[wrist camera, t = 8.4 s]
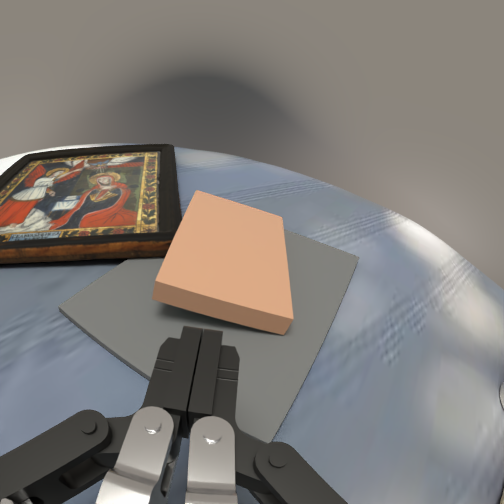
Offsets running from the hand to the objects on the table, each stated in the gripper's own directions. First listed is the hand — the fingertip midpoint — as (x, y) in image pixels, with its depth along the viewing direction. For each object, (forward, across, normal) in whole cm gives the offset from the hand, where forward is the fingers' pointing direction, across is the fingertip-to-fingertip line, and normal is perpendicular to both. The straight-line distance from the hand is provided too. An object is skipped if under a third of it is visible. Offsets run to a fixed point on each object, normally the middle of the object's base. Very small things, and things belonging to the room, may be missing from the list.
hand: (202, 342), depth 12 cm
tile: (+8, 0, +6) cm, 10 cm away
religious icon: (+29, +24, +8) cm, 38 cm away
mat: (+14, 0, +9) cm, 17 cm away
